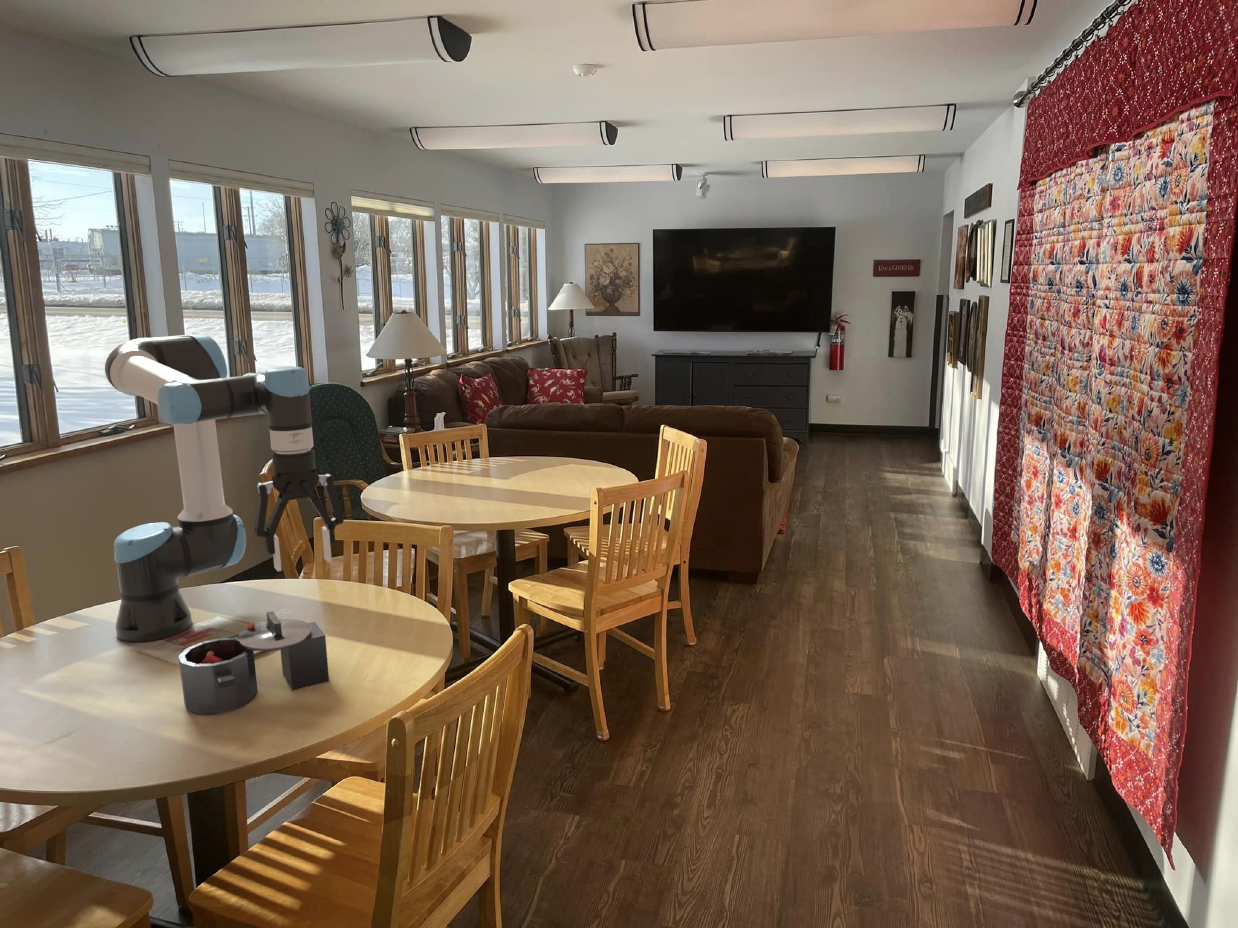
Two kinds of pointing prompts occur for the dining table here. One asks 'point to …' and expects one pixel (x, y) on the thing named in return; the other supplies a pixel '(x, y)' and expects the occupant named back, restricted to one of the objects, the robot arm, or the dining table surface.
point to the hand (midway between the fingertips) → (303, 564)
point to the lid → (274, 634)
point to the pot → (218, 677)
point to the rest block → (306, 661)
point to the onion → (211, 659)
